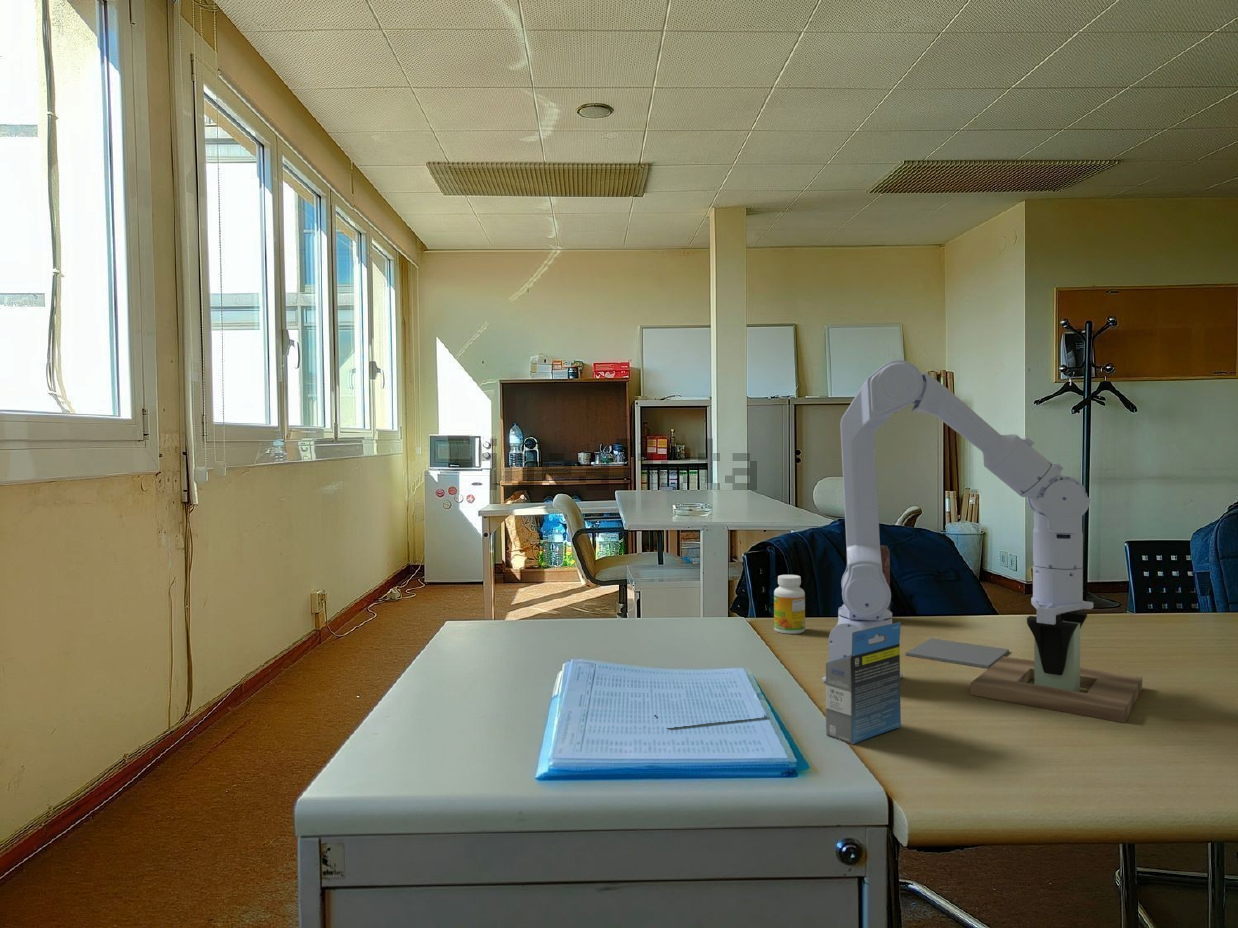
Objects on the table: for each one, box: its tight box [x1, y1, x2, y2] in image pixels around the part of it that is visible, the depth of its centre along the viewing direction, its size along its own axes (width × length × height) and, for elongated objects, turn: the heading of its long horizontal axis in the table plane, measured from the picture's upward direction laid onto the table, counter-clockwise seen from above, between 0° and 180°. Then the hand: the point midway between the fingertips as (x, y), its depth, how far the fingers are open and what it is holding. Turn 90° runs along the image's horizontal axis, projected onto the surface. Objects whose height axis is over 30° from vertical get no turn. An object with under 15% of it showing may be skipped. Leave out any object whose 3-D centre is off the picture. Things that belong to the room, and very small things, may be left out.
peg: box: [1033, 621, 1081, 692], centre depth 103 cm, size 4×4×9 cm
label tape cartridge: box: [825, 621, 902, 745], centre depth 88 cm, size 9×4×12 cm, turn 126°
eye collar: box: [969, 655, 1143, 724], centre depth 103 cm, size 17×17×2 cm
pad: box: [905, 638, 1010, 669], centre depth 122 cm, size 12×12×1 cm
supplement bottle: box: [773, 574, 806, 635], centre depth 138 cm, size 5×5×10 cm
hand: (1057, 669), depth 103 cm, fingers closed on peg, 4 cm apart
